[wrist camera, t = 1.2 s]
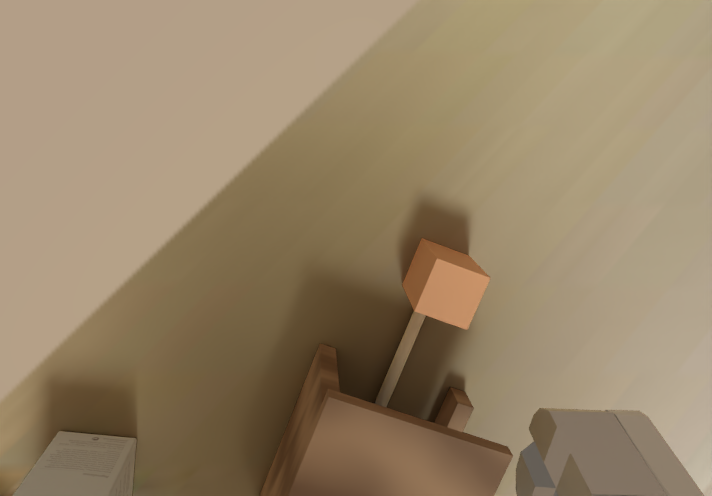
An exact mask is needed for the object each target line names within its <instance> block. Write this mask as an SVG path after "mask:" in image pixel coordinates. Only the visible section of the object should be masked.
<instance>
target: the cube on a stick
mask: <svg viewBox="0 0 712 496" xmlns="http://www.w3.org/2000/svg"><path fill="white" fill-rule="evenodd" d="M489 280H490V277H489V276H488V275H487V274H486V273H485V272H484V271H483V270H482V269H481V268H480V267H479V266H478V265H477V263H476V262H475V261H474V260H473V259H472V258H471V257H470V256H469V255H466V254H463V253H461V252H458V251H455V250H452V249H450V248H447V247H444V246H442V245H439V244H436V243H434V242H431V241H428V240H425V239H423V238H421V241H420V243H419V246H418V248H417V250H416V253H415V255H414V258H413V260H412V262H411V265H410V267H409V270H408V272H407V274H406V277H405V279H404V282H403V284H402V286H403V288H404V290H405V292H406V294H407V297H408V299H409V301H410V303H411V305H412V307H413V309H414V312H413V314H412V316H411V319H410V321H409V323H408V326H407V328H406V330H405V333H404V335H403V337H402V340H401V342H400V344H399V347H398V349H397V351H396V354H395V356H394V359H393V361H392V363H391V366H390V368H389V370H388V373H387V375H386V377H385V380H384V382H383V384H382V387H381V389H380V391H379V394H378V396H377V398H376V401H375V403H374V404H377V405H380V406H383V407H387V405H388V402H389V400H390V398H391V395H392V393H393V391H394V388H395V386H396V384H397V381H398V379H399V377H400V375H401V372H402V370H403V368H404V365H405V363H406V361H407V358H408V356H409V354H410V351H411V349H412V347H413V344H414V342H415V340H416V337H417V335H418V333H419V330H420V328H421V326H422V323H423V321H424V319H425V317H426V316H429V317H432V318H435V319H437V320H440V321H443V322H446V323H449V324H452V325H454V326H457V327H460V328H463V329H466V330H468V327H469V325H470V323H471V321H472V318H473V316H474V314H475V312H476V309H477V307H478V305H479V303H480V301H481V298H482V296H483V294H484V292H485V289H486V287H487V285H488V283H489Z"/></svg>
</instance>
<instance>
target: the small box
mask: <svg viewBox="0 0 712 496" xmlns="http://www.w3.org/2000/svg"><path fill="white" fill-rule="evenodd" d="M136 442H137V440H136V438H129V437H118V436H108V435H97V434H86V433H75V432H64V431H59V432H58V433H57V434H56V436H55V437H54V439H53V440H52V441H51V443H50V444H49V445H48V447H47V448H46V450H45V451H44V452H43V454H42V455H41V456H40V458H39V459H38V461H37V462H36V463H35V465H34V466H33V468H32V469H31V470H30V472H29V473H28V475H27V476H26V477H25V479H24V480H23V482H22V483H21V484H20V486H19V487H18V488H17V490H16V491H15V493H14V494H13V495H12V496H132V492H133V479H134V465H135V452H136Z"/></svg>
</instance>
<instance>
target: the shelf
mask: <svg viewBox="0 0 712 496" xmlns="http://www.w3.org/2000/svg"><path fill="white" fill-rule="evenodd" d="M472 411H473V406H472V404H471V402H470V400H469V398H468V396H467V395H466V393H465V392H464V391H461V390H458V389H455V388H452V387H450V389H449V391H448V393H447V395H446V397H445V400H444V402H443V404H442V406H441V409H440V411H439V413H438V415H437V417H436V420H435V422H434V423H433V422H430V421H427V420H423V419H420V418H417V417H414V416H411V415H408V414H405V413H402V412H399V411H396V410H393V409H389V408H386V407H383V406H380V405H377V404H374V403H371V402H368V401H365V400H362V399H359V398H355V397H352V396H349V395H346V394H343V393H340V388H339V378H338V367H337V357H336V348H333V347H330V346H327V345H324V344H321V343H320V344H319V347H318V349H317V352H316V354H315V357H314V359H313V362H312V364H311V367H310V370H309V372H308V375H307V377H306V380H305V382H304V385H303V387H302V390H301V392H300V395H299V397H298V400H297V402H296V405H295V407H294V410H293V412H292V415H291V417H290V420H289V422H288V425H287V427H286V430H285V433H284V435H283V438H282V440H281V443H280V445H279V448H278V450H277V453H276V455H275V458H274V460H273V463H272V465H271V468H270V470H269V473H268V475H267V478H266V480H265V483H264V485H263V488H262V490H261V493H260V496H494V494H495V492H496V490H497V488H498V486H499V484H500V482H501V480H502V478H503V476H504V474H505V472H506V469H507V467H508V465H509V463H510V461H511V459H512V457H513V455H512V454H511V452H510V450H509V448H508V447H507V446H504V445H501V444H498V443H494V442H491V441H488V440H485V439H482V438H479V437H476V436H473V435H470V434H467V433H464V432H463V430H464V428H465V426H466V424H467V421H468V419H469V417H470V415H471V413H472Z"/></svg>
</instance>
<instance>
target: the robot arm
mask: <svg viewBox="0 0 712 496" xmlns="http://www.w3.org/2000/svg"><path fill="white" fill-rule="evenodd" d="M529 430H530V433H531V435H532V437H533V440H534V442H533V443H531V444H530V445H529V446H528V447H526V448H525V449H524V450H523V451H521V454H520V457H519V461H518V464H517V468H516V493H517V496H704V495H703V493H702V492H701V490H700V489H699V488H698V486H697V485H696V483H695V482H694V481H693V479H692V478H691V476H690V475H689V474H688V472H687V471H686V469H685V468H684V467H683V465H682V464H681V462H680V461H679V460H678V458H677V457H676V455H675V454H674V453H673V451H672V450H671V448H670V447H669V446H668V444H667V443H666V441H665V440H664V439H663V437H662V436H661V434H660V433H659V432H658V430H657V429H656V427H655V426H654V425H653V423H652V422H651V420H650V419H649V417H647V416H646V415H645V414H643V413H642V412H640V411H628V410H605V411H601V410H579V409H554V408H539V409H538V411H537V412H536V413H535V414H534V415H533V418H532V421H531V424H530V427H529Z"/></svg>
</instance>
